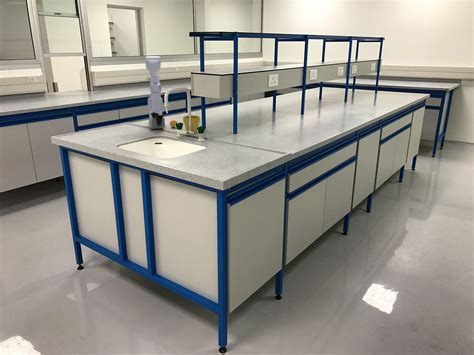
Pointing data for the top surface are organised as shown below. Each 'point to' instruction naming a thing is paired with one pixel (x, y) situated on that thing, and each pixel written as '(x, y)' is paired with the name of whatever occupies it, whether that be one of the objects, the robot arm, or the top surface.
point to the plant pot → (194, 122)
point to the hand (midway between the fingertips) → (157, 124)
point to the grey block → (154, 123)
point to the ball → (173, 123)
